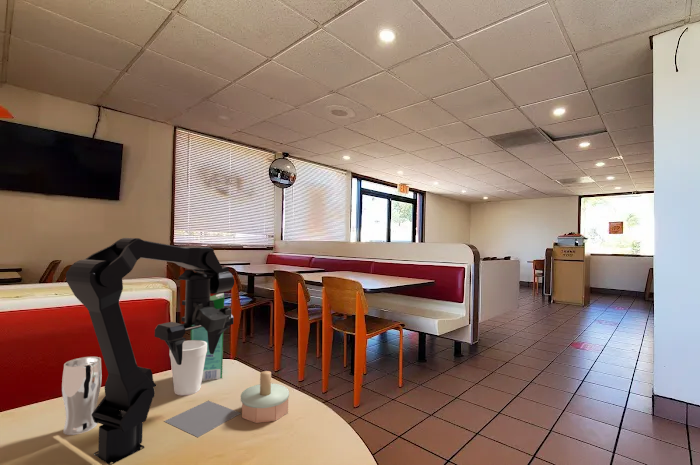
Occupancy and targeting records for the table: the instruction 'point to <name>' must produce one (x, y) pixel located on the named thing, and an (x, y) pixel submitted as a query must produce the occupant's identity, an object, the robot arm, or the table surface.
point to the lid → (264, 393)
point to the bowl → (264, 412)
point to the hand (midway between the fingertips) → (196, 358)
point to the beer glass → (81, 393)
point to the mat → (202, 418)
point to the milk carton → (211, 360)
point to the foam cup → (189, 367)
